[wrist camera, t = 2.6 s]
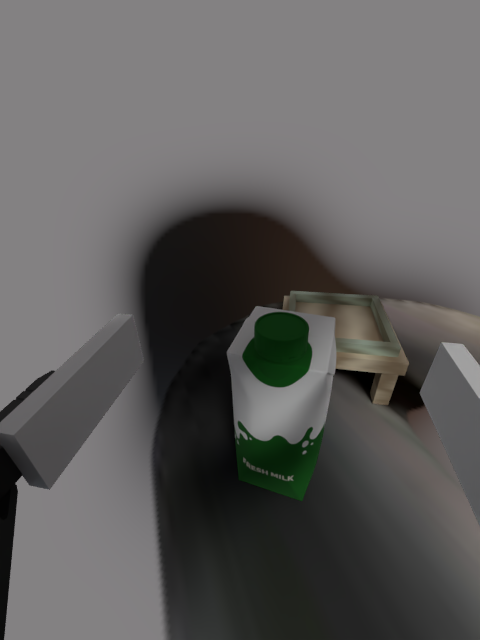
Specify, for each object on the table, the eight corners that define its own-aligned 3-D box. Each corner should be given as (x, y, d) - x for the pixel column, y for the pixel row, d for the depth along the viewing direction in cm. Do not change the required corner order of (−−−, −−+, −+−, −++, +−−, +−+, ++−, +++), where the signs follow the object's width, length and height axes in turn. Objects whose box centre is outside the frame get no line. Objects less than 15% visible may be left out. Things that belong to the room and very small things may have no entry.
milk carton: (227, 485, 31) (213, 332, 21) (252, 420, 38) (251, 281, 28) (310, 514, 29) (341, 355, 18) (320, 438, 36) (347, 293, 25)
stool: (370, 340, 53) (382, 293, 48) (392, 408, 39) (412, 353, 34) (282, 332, 56) (284, 287, 51) (274, 394, 42) (277, 341, 37)
